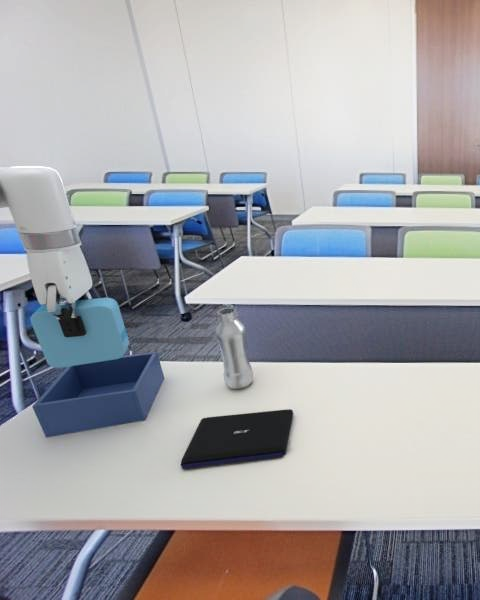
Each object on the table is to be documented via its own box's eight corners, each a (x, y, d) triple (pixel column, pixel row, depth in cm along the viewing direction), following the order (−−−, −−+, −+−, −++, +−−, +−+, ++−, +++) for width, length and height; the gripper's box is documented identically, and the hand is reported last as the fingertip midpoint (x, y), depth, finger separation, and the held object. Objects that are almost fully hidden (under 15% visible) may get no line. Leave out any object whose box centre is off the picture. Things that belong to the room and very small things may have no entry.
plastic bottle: (226, 395, 94) (211, 319, 87) (224, 380, 100) (209, 308, 92) (256, 387, 98) (244, 314, 90) (252, 374, 103) (240, 303, 95)
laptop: (279, 469, 75) (278, 461, 74) (168, 471, 73) (165, 463, 73) (302, 414, 90) (301, 407, 89) (210, 414, 88) (208, 407, 87)
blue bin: (45, 437, 79) (31, 406, 77) (81, 389, 94) (70, 362, 91) (145, 420, 85) (135, 391, 82) (164, 378, 99) (157, 351, 96)
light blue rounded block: (131, 347, 85) (116, 296, 81) (126, 358, 82) (110, 304, 77) (57, 358, 80) (36, 304, 75) (49, 370, 76) (26, 313, 72)
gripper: (48, 228, 77) (77, 313, 84) (-7, 253, 63) (34, 353, 70) (96, 227, 80) (121, 310, 87) (54, 251, 65) (87, 347, 72)
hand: (82, 328), depth 78 cm, fingers closed on light blue rounded block, 4 cm apart
